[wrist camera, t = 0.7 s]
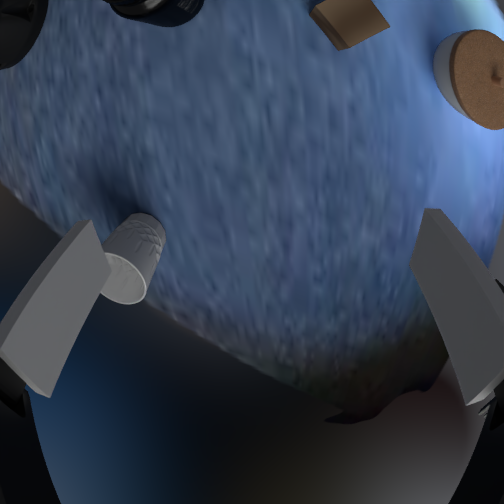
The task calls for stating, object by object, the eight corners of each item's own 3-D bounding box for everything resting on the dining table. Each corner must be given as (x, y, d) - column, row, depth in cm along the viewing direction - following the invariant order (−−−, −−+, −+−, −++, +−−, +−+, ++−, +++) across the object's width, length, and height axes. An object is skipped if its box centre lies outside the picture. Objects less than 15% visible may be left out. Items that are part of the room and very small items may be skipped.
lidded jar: (488, 111, 24) (535, 133, 16) (426, 116, 26) (470, 138, 19) (476, 33, 18) (525, 37, 10) (408, 30, 20) (452, 24, 13)
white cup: (128, 198, 36) (92, 241, 28) (178, 225, 38) (154, 274, 30) (114, 240, 40) (83, 285, 32) (159, 263, 42) (137, 313, 34)
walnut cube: (308, 15, 21) (315, 5, 17) (345, -5, 19) (358, -16, 15) (338, 50, 24) (349, 48, 20) (373, 31, 22) (390, 26, 17)
